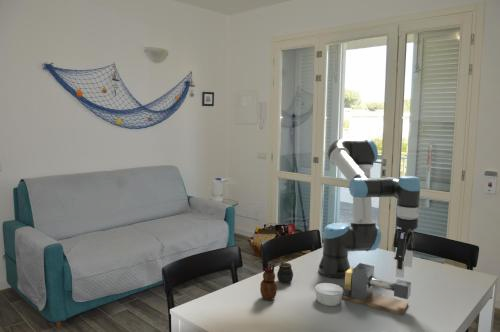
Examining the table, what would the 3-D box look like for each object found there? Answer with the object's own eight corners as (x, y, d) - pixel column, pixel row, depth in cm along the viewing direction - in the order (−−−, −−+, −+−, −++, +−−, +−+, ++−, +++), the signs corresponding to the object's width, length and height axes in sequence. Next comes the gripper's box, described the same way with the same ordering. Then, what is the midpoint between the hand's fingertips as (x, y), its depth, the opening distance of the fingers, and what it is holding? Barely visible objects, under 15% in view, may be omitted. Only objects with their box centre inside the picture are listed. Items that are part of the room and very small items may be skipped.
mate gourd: (285, 286, 171) (285, 264, 170) (273, 281, 177) (273, 259, 176) (296, 282, 176) (296, 260, 175) (284, 277, 182) (284, 256, 181)
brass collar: (344, 288, 161) (345, 272, 160) (350, 282, 167) (351, 267, 166) (350, 290, 160) (351, 273, 159) (356, 284, 165) (357, 268, 165)
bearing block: (351, 297, 159) (352, 269, 157) (358, 289, 166) (359, 263, 165) (365, 301, 155) (367, 272, 154) (372, 293, 163) (374, 266, 161)
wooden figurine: (278, 296, 161) (279, 261, 159) (274, 302, 156) (275, 266, 154) (262, 294, 163) (263, 259, 161) (258, 299, 158) (259, 263, 156)
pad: (339, 294, 162) (339, 293, 161) (346, 286, 169) (346, 286, 169) (351, 297, 159) (351, 296, 159) (358, 289, 166) (358, 289, 166)
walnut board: (336, 296, 162) (336, 294, 162) (345, 288, 170) (345, 285, 170) (402, 315, 147) (402, 312, 147) (408, 305, 156) (408, 302, 155)
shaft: (343, 283, 162) (344, 271, 162) (348, 279, 166) (348, 268, 166) (407, 299, 148) (408, 286, 148) (410, 294, 152) (411, 282, 152)
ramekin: (326, 309, 151) (326, 296, 150) (308, 298, 161) (309, 285, 160) (348, 304, 156) (349, 291, 155) (330, 292, 166) (331, 281, 165)
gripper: (410, 225, 136) (406, 284, 138) (424, 212, 156) (421, 264, 158) (388, 221, 140) (385, 279, 142) (404, 210, 160) (401, 260, 163)
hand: (404, 271), depth 150 cm, fingers open, 13 cm apart
